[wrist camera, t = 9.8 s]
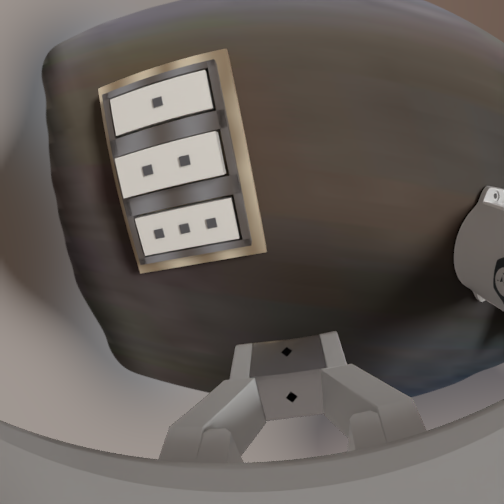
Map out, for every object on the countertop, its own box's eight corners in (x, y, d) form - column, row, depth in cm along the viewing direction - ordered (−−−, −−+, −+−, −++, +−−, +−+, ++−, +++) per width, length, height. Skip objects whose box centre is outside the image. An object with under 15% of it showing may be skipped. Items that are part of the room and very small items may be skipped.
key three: (232, 195, 33) (230, 198, 31) (240, 233, 34) (239, 239, 32) (141, 215, 34) (134, 219, 32) (150, 250, 35) (144, 256, 33)
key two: (218, 132, 30) (214, 130, 27) (226, 173, 31) (223, 174, 29) (122, 157, 30) (113, 158, 28) (130, 195, 32) (122, 198, 30)
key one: (208, 74, 29) (204, 69, 27) (215, 110, 30) (212, 107, 28) (117, 101, 30) (109, 99, 28) (123, 136, 31) (115, 135, 29)
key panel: (228, 54, 30) (224, 42, 26) (266, 245, 38) (266, 257, 34) (107, 91, 32) (90, 86, 27) (146, 266, 39) (134, 279, 35)
